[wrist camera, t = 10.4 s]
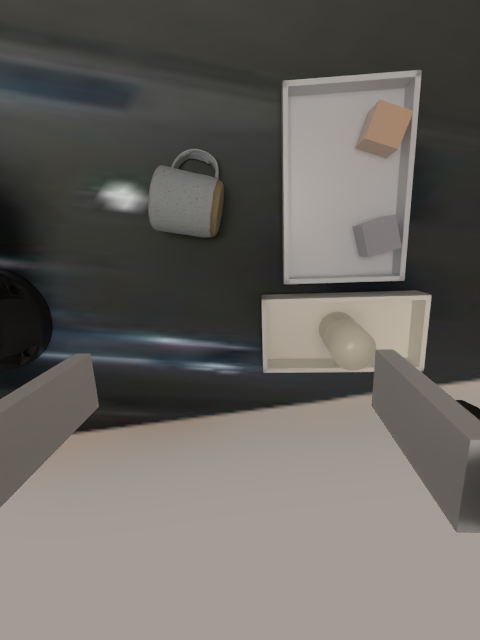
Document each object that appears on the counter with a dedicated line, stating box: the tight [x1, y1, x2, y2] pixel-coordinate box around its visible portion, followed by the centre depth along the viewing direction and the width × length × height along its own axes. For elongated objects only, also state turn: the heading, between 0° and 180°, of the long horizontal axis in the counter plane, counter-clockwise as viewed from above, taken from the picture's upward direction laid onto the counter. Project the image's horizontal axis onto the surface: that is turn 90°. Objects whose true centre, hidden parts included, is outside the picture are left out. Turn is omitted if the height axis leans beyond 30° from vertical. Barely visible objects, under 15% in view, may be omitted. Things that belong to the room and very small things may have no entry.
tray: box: [281, 70, 422, 284], centre depth 40 cm, size 15×23×3 cm, turn 2°
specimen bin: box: [262, 290, 431, 373], centre depth 44 cm, size 21×10×4 cm, turn 92°
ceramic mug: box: [148, 149, 224, 237], centre depth 39 cm, size 11×8×8 cm
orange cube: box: [355, 99, 414, 158], centre depth 38 cm, size 4×4×4 cm
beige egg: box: [319, 312, 376, 371], centre depth 41 cm, size 5×5×9 cm
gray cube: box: [352, 214, 402, 257], centre depth 40 cm, size 4×4×4 cm
